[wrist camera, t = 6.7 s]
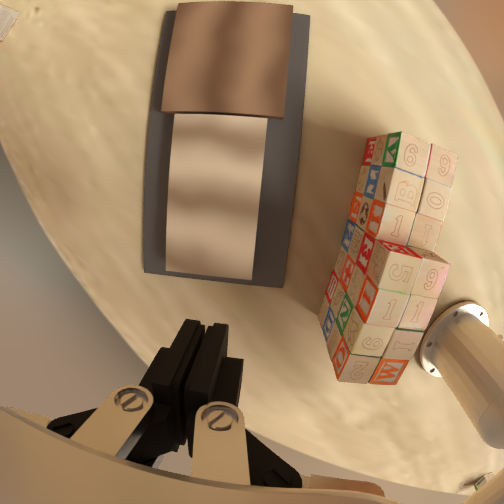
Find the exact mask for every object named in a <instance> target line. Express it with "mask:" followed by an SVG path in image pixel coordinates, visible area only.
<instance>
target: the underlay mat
mask: <svg viewBox="0 0 504 504" xmlns="http://www.w3.org/2000/svg"><path fill="white" fill-rule="evenodd" d="M176 13H177V11H167V12H166V16H165V21H164V25H163V30H162V35H161V41H160V46H159V52H158V58H157V64H156V71H155V77H154V84H153V92H152V100H151V108H150V118H149V128H148V139H147V152H146V167H145V187H144V273H152V274H160V275H168V276H176V277H184V278H192V279H201V280H210V281H219V282H228V283H237V284H247V285H257V286H267V287H277V288H283V281H284V274H285V267H286V259H287V252H288V244H289V236H290V229H291V221H292V212H293V204H294V195H295V187H296V178H297V169H298V159H299V150H300V140H301V129H302V119H303V108H304V96H305V84H306V71H307V58H308V43H309V27H310V15H304V14H297V13H293V15H292V28H291V41H290V53H289V64H288V76H287V87H286V98H285V109H284V118H283V120H277V119H267V130H266V140H265V151H264V161H263V171H262V181H261V191H260V201H259V211H258V221H257V231H256V241H255V251H254V261H253V271H252V280H245V279H236V278H226V277H217V276H208V275H199V274H191V273H182V272H174V271H166V227H167V202H168V185H169V170H170V157H171V145H172V135H173V125H174V116H175V114H166V113H164V112H162V111H161V107H162V99H163V91H164V83H165V76H166V69H167V63H168V56H169V50H170V44H171V39H172V33H173V28H174V23H175V18H176Z"/></svg>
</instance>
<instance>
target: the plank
mask: <svg viewBox="0 0 504 504" xmlns="http://www.w3.org/2000/svg"><path fill="white" fill-rule="evenodd" d="M267 119H268V118H258V117H245V116H231V115H210V114H175V116H174V125H173V135H172V145H171V157H170V170H169V185H168V202H167V227H166V271H174V272H182V273H191V274H199V275H208V276H217V277H226V278H236V279H245V280H252V271H253V261H254V251H255V241H256V231H257V221H258V211H259V201H260V191H261V181H262V171H263V161H264V151H265V140H266V130H267Z"/></svg>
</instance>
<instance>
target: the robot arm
mask: <svg viewBox="0 0 504 504" xmlns="http://www.w3.org/2000/svg"><path fill="white" fill-rule="evenodd" d="M228 328H229V326H228V324H220V323H214V325H213V326H208V328H207V330H206V333H205V325H201V323H200V321H197V320H190V319H186V320H185V321H184V323H183V325H182V327H181V328H180V330H179V332H178V334H177V336H176V337H175V339H174V341H173V343H172V345H171V347H170V348H165V347H161V348H160V350H159V351H158V353H157V355H156V356H155V358H154V360H153V361H152V363H151V365H150V367H149V368H148V370H147V372H146V373H145V375H144V377H143V379H142V380H141V382H140V384H139V386H137V385H126V386H122V387H119V388H117V389H116V390H115V391H113V393H111V394H110V396H109V397H108V398H107V399H106V400H105V401H104V402H103V403H102V404H101V405H100V406H99V407H98V408H95V409H91V410H88V411H84V412H80V413H76V414H72V415H68V416H64V417H60V418H57V419H54V420H53V421H51V419H50V417H46V416H42V415H38V414H34V413H30V412H26V411H23V410H19V409H16V408H12V407H4V406H2V405H0V504H401V503H399V502H397V501H395V500H392V499H389V498H386V497H385V495H384V492H383V490H382V489H381V487H379V486H378V485H376V484H375V483H370V482H366V481H356V480H347V479H339V478H332V477H326V476H320V475H314V474H311V476H310V477H309V476H304V475H300V474H299V473H298V472H297V471H296V470H295V469H294V468H293V467H291V466H290V465H289V464H287V463H286V462H285V461H284V460H282V459H281V458H280V457H279V456H277V455H276V454H275V453H274V452H272V451H271V450H270V449H269V448H267V447H266V446H265V445H264V444H263V443H261V442H260V441H259V440H258V439H257V438H256V437H254V436H253V435H252V434H251V433H250V432H249V431H248V430H247V429H245V422H244V416H243V413H242V412H241V410H240V409H239V408H238V403H239V397H240V390H241V382H242V372H243V359H238V358H230V357H227V346H228ZM419 357H420V362H421V365H422V367H423V368H424V370H425V371H426V372H427V373H428V374H429V375H432V376H436V377H443V379H444V380H445V382H446V383H447V385H448V386H449V388H450V389H451V391H452V392H453V394H454V395H455V397H456V398H457V400H458V401H459V403H460V404H461V406H462V407H463V409H464V411H465V412H466V414H467V415H468V417H469V419H470V420H471V422H472V423H473V425H474V427H475V428H476V430H477V432H478V433H479V435H480V436H481V438H482V439H483V441H484V442H485V443H486V444H487V445H489V446H491V447H493V448H498V449H504V341H503V337H502V335H496V334H495V333H494V332H493V331H492V330H491V329H490V328H489V327H488V316H487V313H486V311H485V310H484V309H483V308H482V307H481V306H480V305H479V304H477V303H475V302H471V301H466V302H461V303H458V304H456V305H453V306H452V307H450V308H449V309H447V310H446V311H445V312H443V313H442V314H441V315H440V316H439V317H438V318H437V319H436V320H435V321H434V322H433V324H432V325H431V326H430V328H429V329H428V331H427V333H426V334H425V336H424V339H423V341H422V344H421V348H420V355H419ZM186 439H188V450H189V455H190V457H191V458H192V472H191V476H185V475H181V474H177V473H172V472H168V471H163V470H160V469H158V468H159V466H160V464H161V462H162V460H163V457H164V456H163V454H165V453H168V452H170V451H174V452H177V451H178V448H179V445H185V443H186ZM463 504H504V468H503V469H502V470H501V471H500V472H499V473H498V474H497V475H495V476H494V477H493V478H492V479H491V480H489V481H488V482H487V483H486V484H485V485H483V486H482V487H481V488H480V489H479V490H477V491H476V492H475V493H474V494H472V495H471V496H470V497H469V498H468V499H467V500H465V501H464V502H463Z"/></svg>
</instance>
